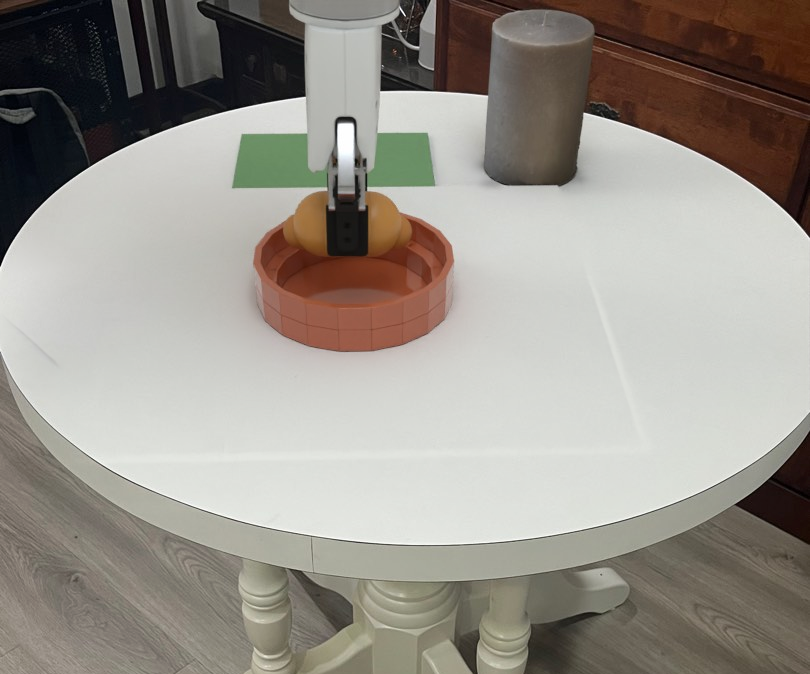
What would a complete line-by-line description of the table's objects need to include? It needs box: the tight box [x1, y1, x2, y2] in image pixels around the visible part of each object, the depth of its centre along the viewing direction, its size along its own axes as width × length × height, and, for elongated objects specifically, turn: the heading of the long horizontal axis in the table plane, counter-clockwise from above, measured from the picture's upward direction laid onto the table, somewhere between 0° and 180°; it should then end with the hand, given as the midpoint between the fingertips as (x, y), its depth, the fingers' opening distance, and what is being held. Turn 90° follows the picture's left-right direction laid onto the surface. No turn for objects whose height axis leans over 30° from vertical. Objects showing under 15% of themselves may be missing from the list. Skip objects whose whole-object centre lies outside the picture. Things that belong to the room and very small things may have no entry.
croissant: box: [283, 190, 412, 257], centre depth 79 cm, size 10×5×5 cm, turn 92°
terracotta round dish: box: [252, 211, 455, 352], centre depth 82 cm, size 16×16×4 cm
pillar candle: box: [483, 9, 596, 187], centre depth 97 cm, size 10×10×15 cm
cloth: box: [231, 132, 436, 189], centre depth 102 cm, size 20×13×1 cm, turn 92°
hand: (347, 234), depth 80 cm, fingers closed on croissant, 5 cm apart
